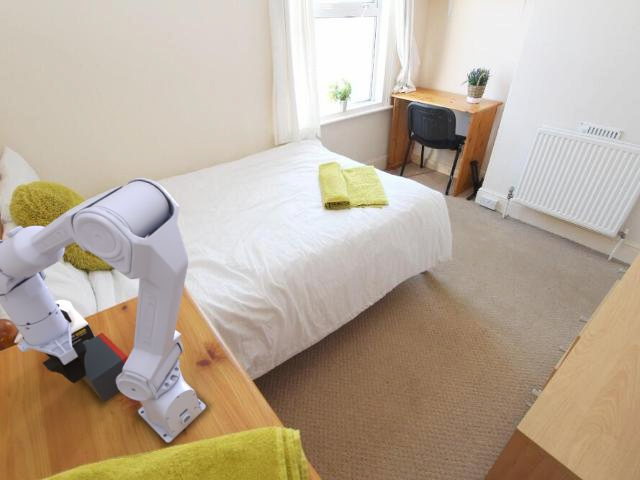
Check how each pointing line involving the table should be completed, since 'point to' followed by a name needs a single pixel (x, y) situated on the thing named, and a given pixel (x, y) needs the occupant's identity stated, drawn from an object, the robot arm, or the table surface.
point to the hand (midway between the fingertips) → (69, 367)
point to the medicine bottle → (75, 323)
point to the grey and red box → (103, 366)
